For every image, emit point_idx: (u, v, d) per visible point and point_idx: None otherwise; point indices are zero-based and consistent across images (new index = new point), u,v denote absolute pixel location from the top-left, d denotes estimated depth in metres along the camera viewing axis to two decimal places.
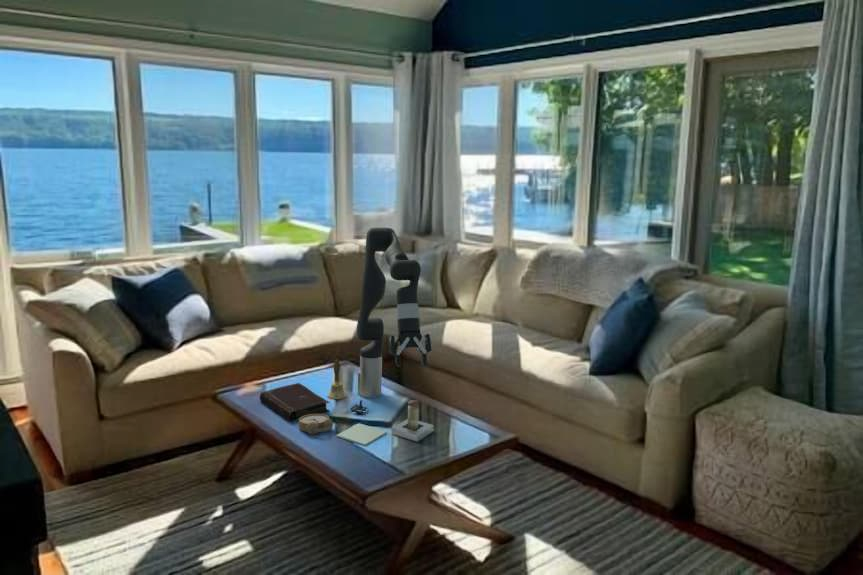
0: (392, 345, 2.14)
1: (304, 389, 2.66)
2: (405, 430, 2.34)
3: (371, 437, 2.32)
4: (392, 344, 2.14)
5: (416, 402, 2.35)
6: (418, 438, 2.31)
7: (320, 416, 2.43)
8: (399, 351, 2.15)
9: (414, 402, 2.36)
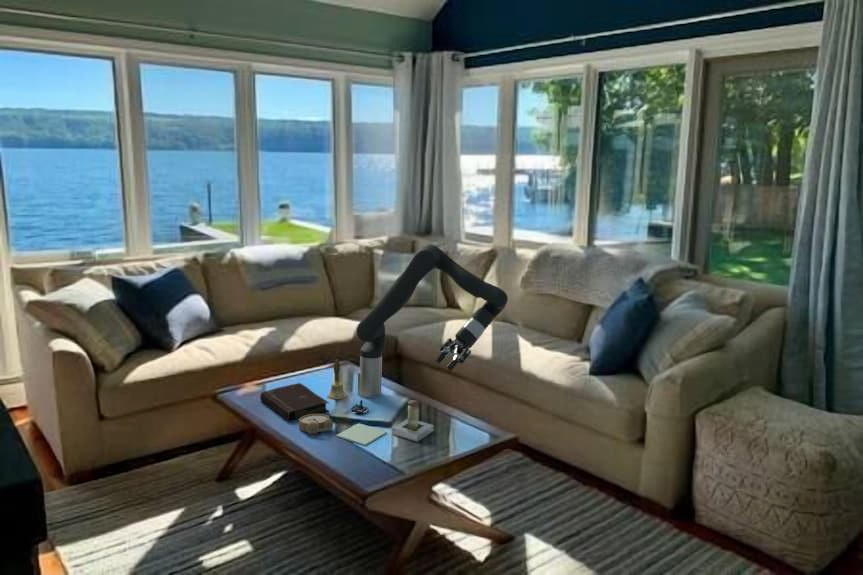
0: None
1: (305, 389, 2.66)
2: (405, 430, 2.34)
3: (371, 437, 2.32)
4: None
5: (416, 402, 2.35)
6: (418, 438, 2.31)
7: (320, 416, 2.43)
8: None
9: (414, 402, 2.36)
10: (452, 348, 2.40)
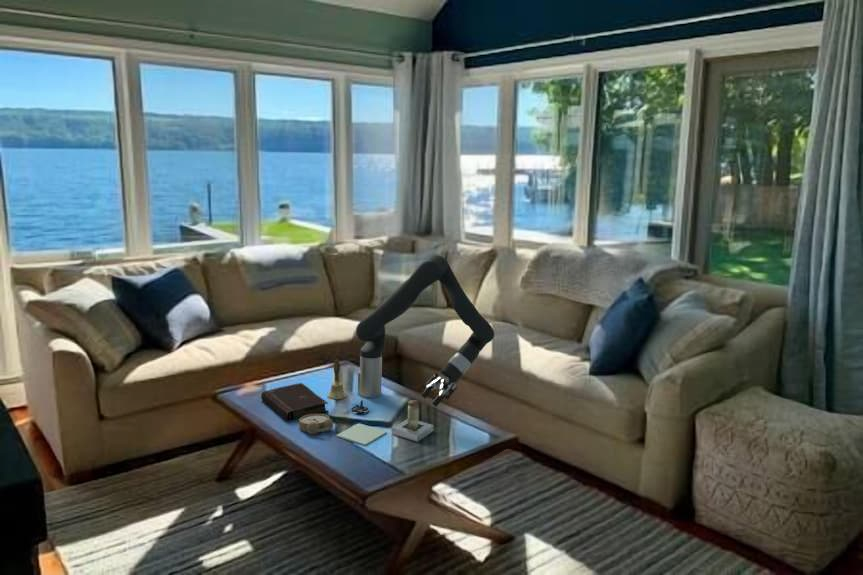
0: None
1: (305, 389, 2.66)
2: (405, 430, 2.34)
3: (371, 437, 2.32)
4: None
5: (416, 402, 2.35)
6: (418, 438, 2.31)
7: (320, 416, 2.43)
8: None
9: (414, 402, 2.36)
10: (438, 383, 2.40)
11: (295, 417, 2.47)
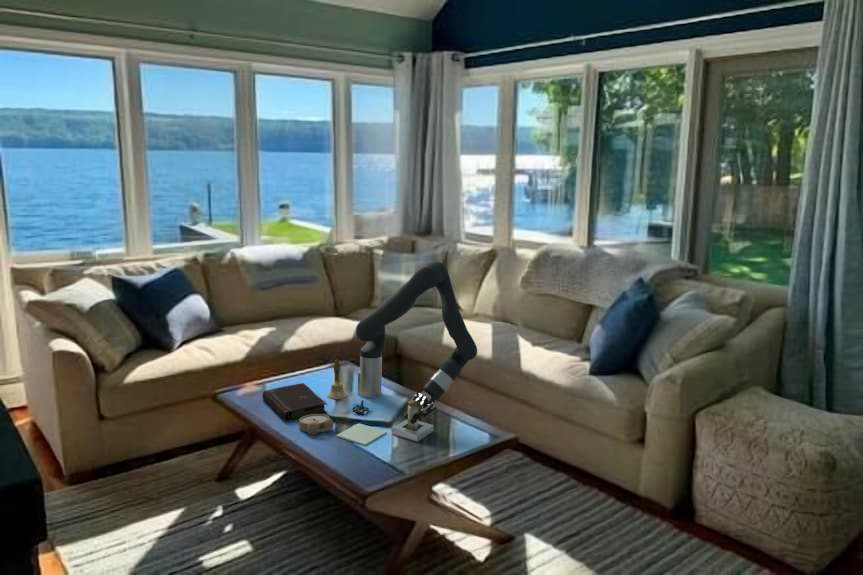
0: None
1: (306, 389, 2.66)
2: (405, 430, 2.34)
3: (371, 437, 2.32)
4: None
5: (416, 402, 2.35)
6: (418, 438, 2.31)
7: (320, 416, 2.43)
8: None
9: (414, 402, 2.35)
10: (421, 400, 2.37)
11: (293, 417, 2.47)
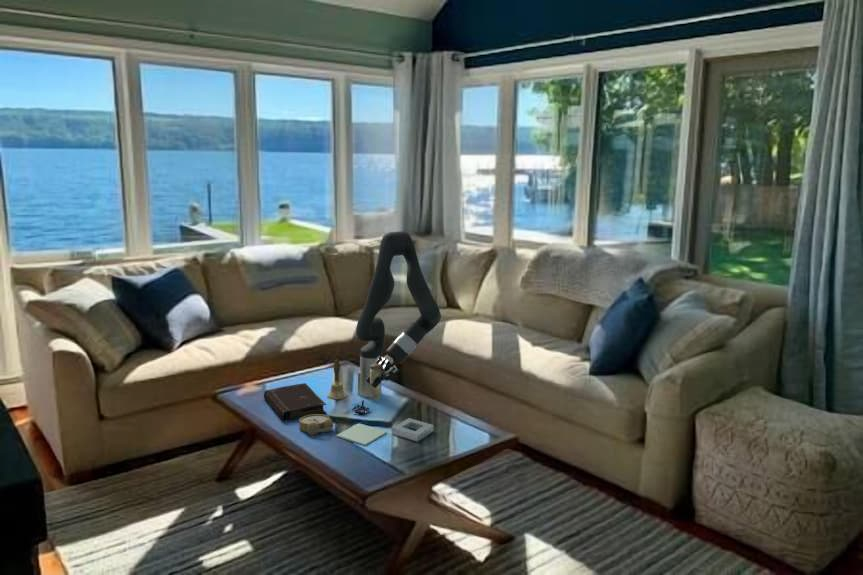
0: None
1: (307, 390, 2.66)
2: (405, 430, 2.34)
3: (371, 437, 2.32)
4: None
5: (378, 366, 2.30)
6: (418, 438, 2.31)
7: (320, 416, 2.43)
8: None
9: (376, 365, 2.30)
10: (384, 364, 2.32)
11: (292, 417, 2.47)
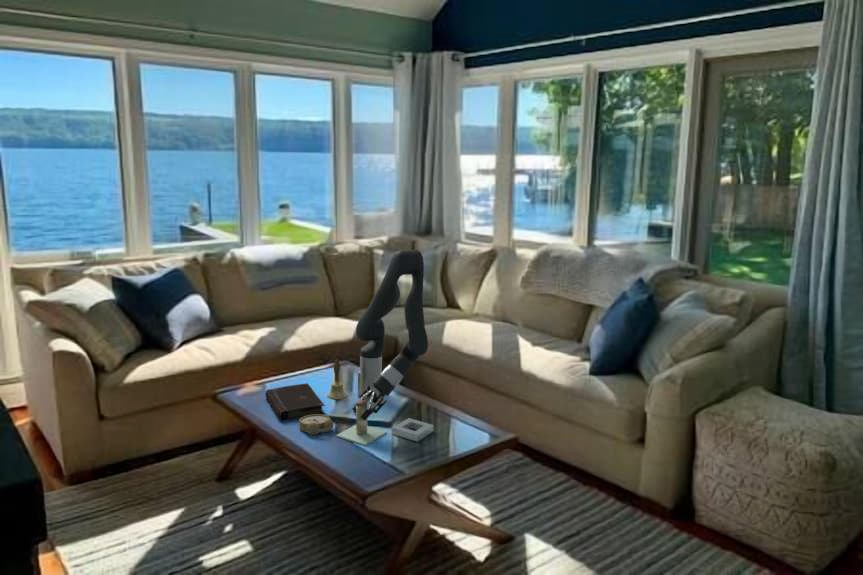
0: None
1: (308, 390, 2.65)
2: (405, 430, 2.34)
3: (371, 437, 2.32)
4: None
5: (364, 403, 2.32)
6: (418, 438, 2.31)
7: (321, 417, 2.43)
8: None
9: (362, 402, 2.32)
10: (369, 396, 2.34)
11: (290, 417, 2.46)
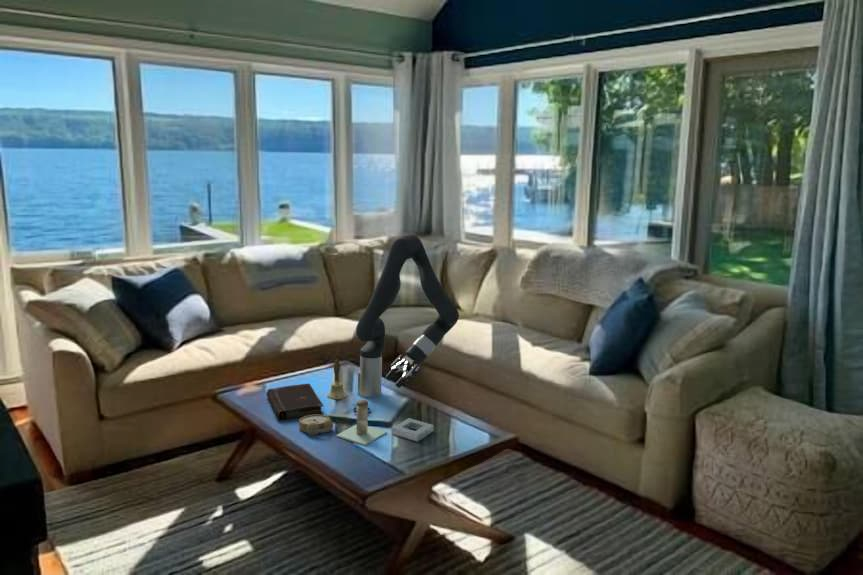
0: None
1: (309, 390, 2.65)
2: (405, 430, 2.34)
3: (371, 437, 2.32)
4: None
5: (364, 402, 2.32)
6: (418, 438, 2.31)
7: (321, 417, 2.43)
8: None
9: (363, 402, 2.32)
10: (402, 365, 2.38)
11: (288, 417, 2.46)
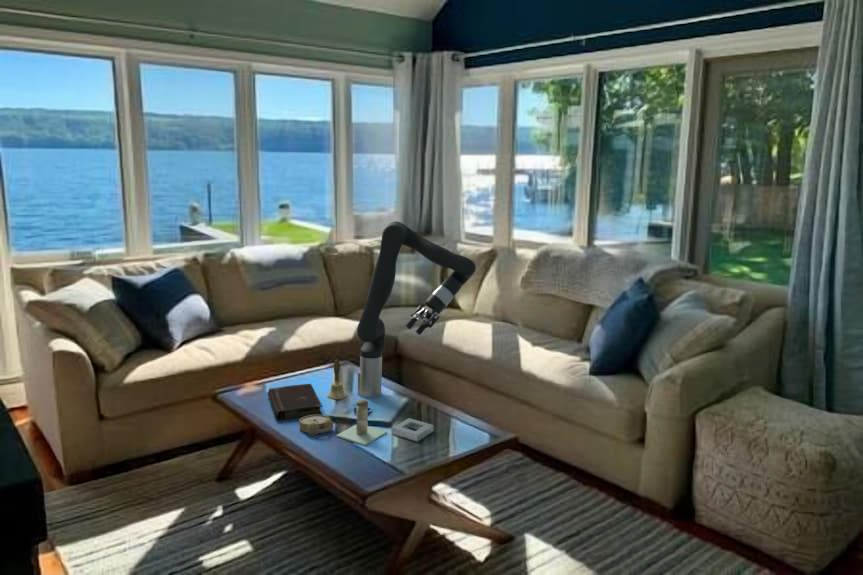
0: None
1: (310, 390, 2.65)
2: (405, 430, 2.34)
3: (371, 437, 2.32)
4: None
5: (364, 402, 2.32)
6: (418, 438, 2.31)
7: (321, 417, 2.43)
8: None
9: (363, 402, 2.32)
10: (422, 314, 2.52)
11: (287, 417, 2.46)
